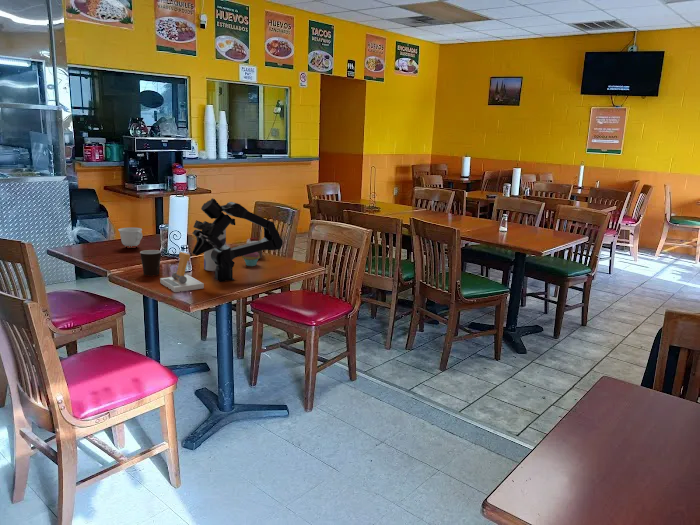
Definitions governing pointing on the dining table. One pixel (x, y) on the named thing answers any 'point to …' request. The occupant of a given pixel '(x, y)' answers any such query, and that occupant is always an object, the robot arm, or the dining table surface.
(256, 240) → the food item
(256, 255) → the cupcake
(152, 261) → the coffee mug
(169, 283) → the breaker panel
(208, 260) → the container
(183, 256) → the lever
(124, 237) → the teacup
